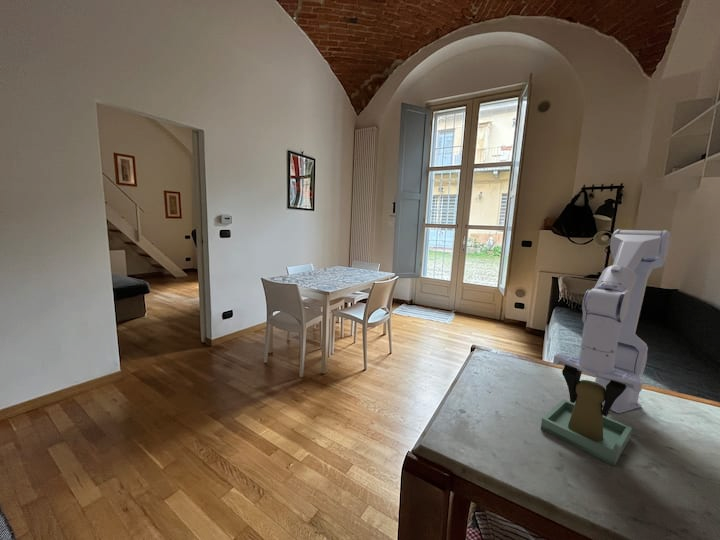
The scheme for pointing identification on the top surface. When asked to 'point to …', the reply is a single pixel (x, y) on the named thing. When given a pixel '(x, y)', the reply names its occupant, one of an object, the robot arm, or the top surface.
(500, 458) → the top surface
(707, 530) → the top surface
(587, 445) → the tray
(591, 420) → the cork
